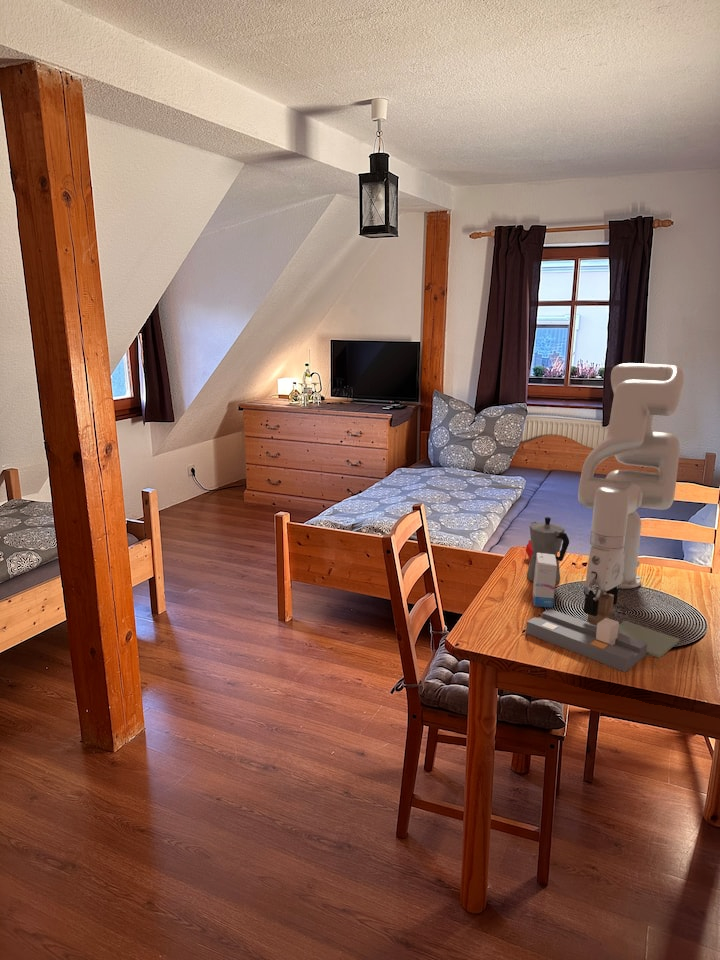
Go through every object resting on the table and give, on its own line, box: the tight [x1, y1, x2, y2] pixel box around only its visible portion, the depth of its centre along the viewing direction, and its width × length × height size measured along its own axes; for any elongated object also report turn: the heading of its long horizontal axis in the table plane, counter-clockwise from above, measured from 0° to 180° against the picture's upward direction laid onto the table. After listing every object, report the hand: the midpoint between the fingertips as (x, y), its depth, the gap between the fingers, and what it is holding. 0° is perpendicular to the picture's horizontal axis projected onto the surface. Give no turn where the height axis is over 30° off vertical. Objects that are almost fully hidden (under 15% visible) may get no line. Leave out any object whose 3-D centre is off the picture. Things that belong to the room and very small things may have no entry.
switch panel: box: [525, 608, 647, 673], centre depth 152 cm, size 10×24×3 cm, turn 44°
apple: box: [525, 539, 533, 560], centre depth 203 cm, size 7×7×8 cm
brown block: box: [586, 590, 614, 625], centre depth 160 cm, size 4×4×12 cm
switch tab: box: [596, 618, 620, 646], centre depth 148 cm, size 4×3×5 cm
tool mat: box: [618, 620, 681, 659], centre depth 155 cm, size 11×13×1 cm
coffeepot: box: [526, 516, 570, 584], centre depth 187 cm, size 15×9×18 cm, turn 24°
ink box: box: [532, 553, 557, 609], centre depth 174 cm, size 9×5×12 cm, turn 168°
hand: (600, 608), depth 160 cm, fingers open, 9 cm apart
